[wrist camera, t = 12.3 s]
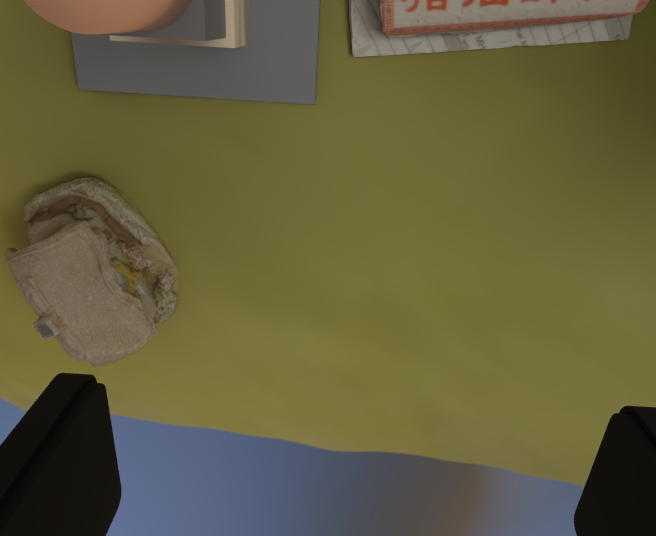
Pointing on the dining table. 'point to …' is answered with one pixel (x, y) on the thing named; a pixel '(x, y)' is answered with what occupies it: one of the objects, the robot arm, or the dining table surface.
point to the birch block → (234, 38)
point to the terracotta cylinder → (109, 14)
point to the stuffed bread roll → (94, 271)
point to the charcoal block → (192, 23)
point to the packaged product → (484, 24)
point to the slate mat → (214, 60)
